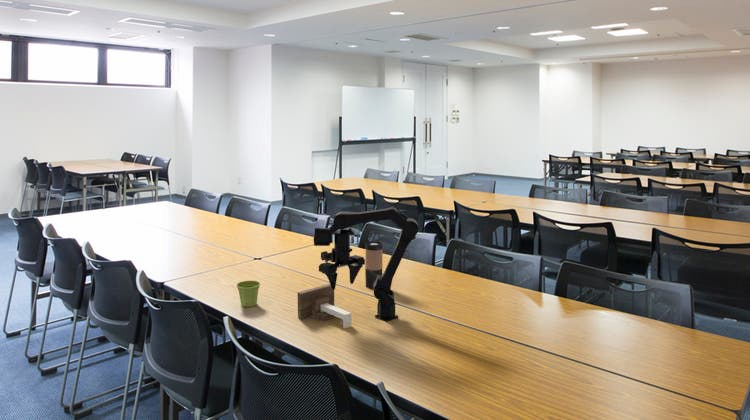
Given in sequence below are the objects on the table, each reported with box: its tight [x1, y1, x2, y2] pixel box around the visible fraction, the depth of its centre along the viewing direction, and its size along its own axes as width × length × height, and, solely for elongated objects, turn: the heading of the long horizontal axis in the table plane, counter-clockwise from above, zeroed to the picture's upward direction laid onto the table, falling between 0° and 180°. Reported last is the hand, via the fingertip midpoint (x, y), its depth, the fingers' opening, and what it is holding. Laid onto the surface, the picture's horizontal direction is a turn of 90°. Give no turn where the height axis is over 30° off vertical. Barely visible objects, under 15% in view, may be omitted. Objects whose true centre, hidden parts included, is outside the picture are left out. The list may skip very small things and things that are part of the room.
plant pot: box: [235, 280, 261, 308], centre depth 208 cm, size 9×9×9 cm
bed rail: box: [321, 303, 352, 329], centre depth 191 cm, size 14×3×5 cm, turn 44°
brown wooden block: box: [297, 283, 336, 322], centre depth 196 cm, size 8×16×10 cm, turn 134°
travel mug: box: [364, 240, 383, 290], centre depth 231 cm, size 8×8×20 cm
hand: (342, 286), depth 195 cm, fingers open, 9 cm apart
